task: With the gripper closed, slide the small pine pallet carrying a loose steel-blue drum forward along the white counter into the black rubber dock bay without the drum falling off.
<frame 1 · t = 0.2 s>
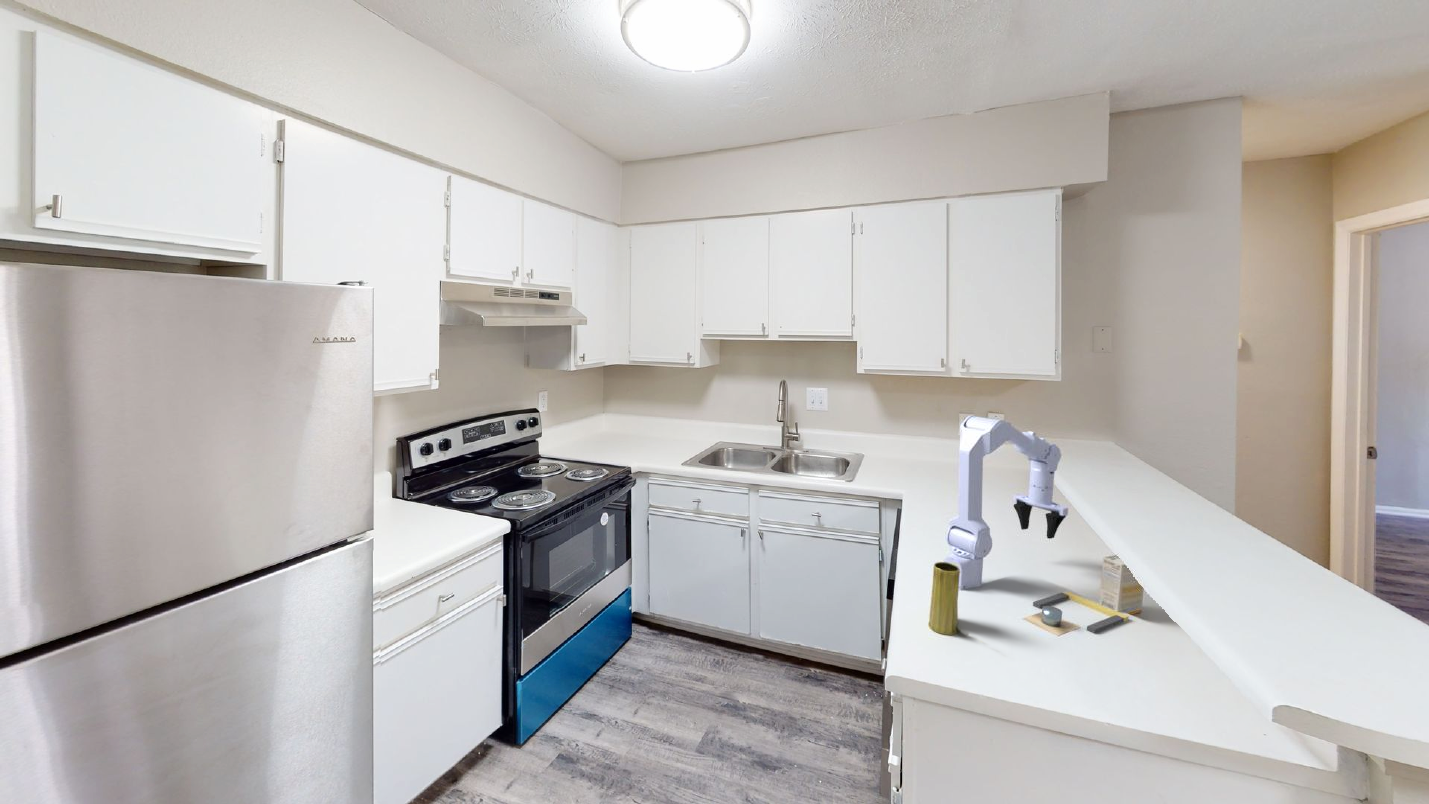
hand: (1037, 533, 156), 10 cm above the countertop, fingers open, 7 cm apart
drum: (1051, 622, 124), point 1 cm above the countertop, touching pallet
dock: (1075, 620, 129), on the countertop
vase: (942, 628, 125), on the countertop
supplement box: (1119, 611, 133), on the countertop
pallet: (1050, 631, 125), on the countertop, touching drum
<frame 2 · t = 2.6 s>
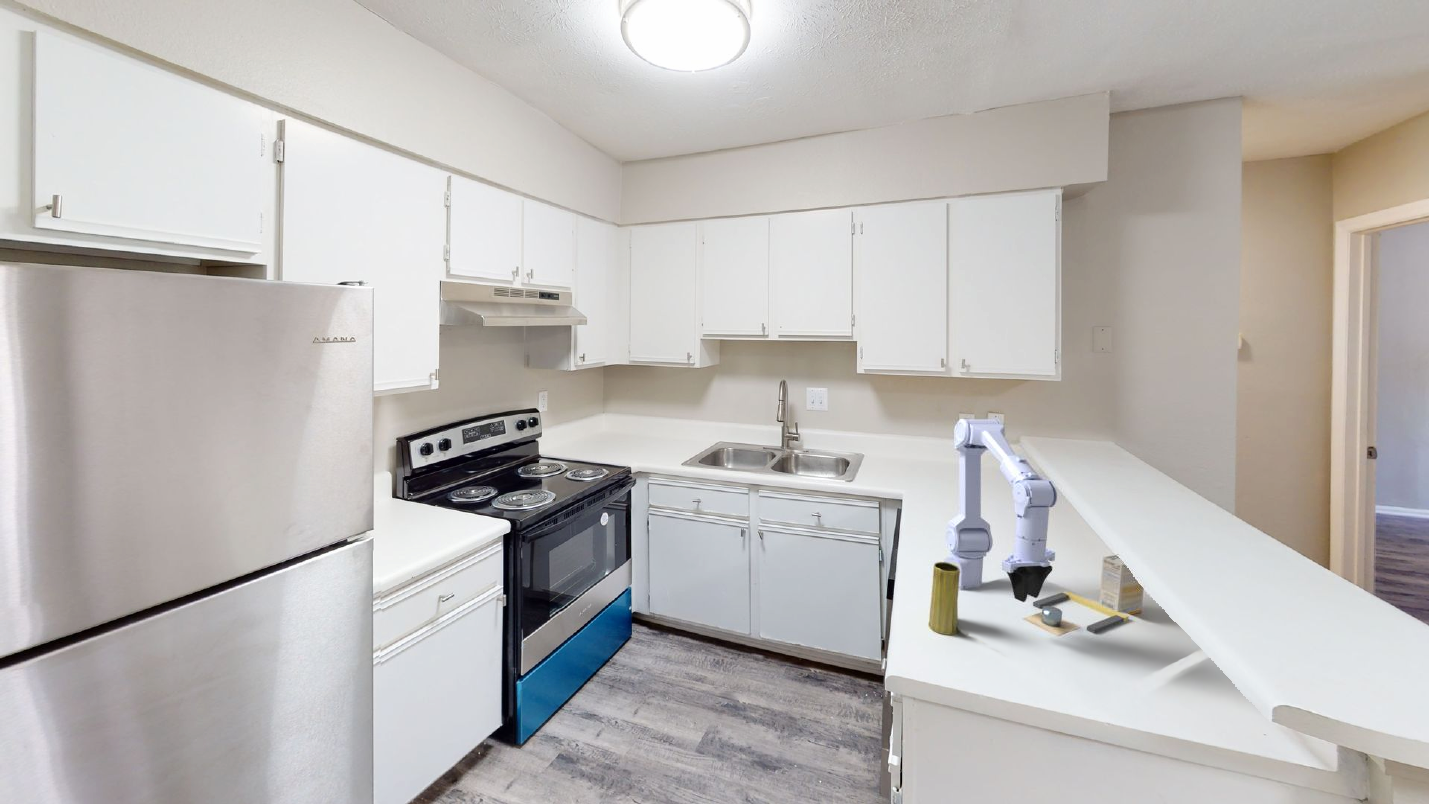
hand: (1026, 597, 119), 9 cm above the countertop, fingers open, 3 cm apart
nothing on the countertop moved.
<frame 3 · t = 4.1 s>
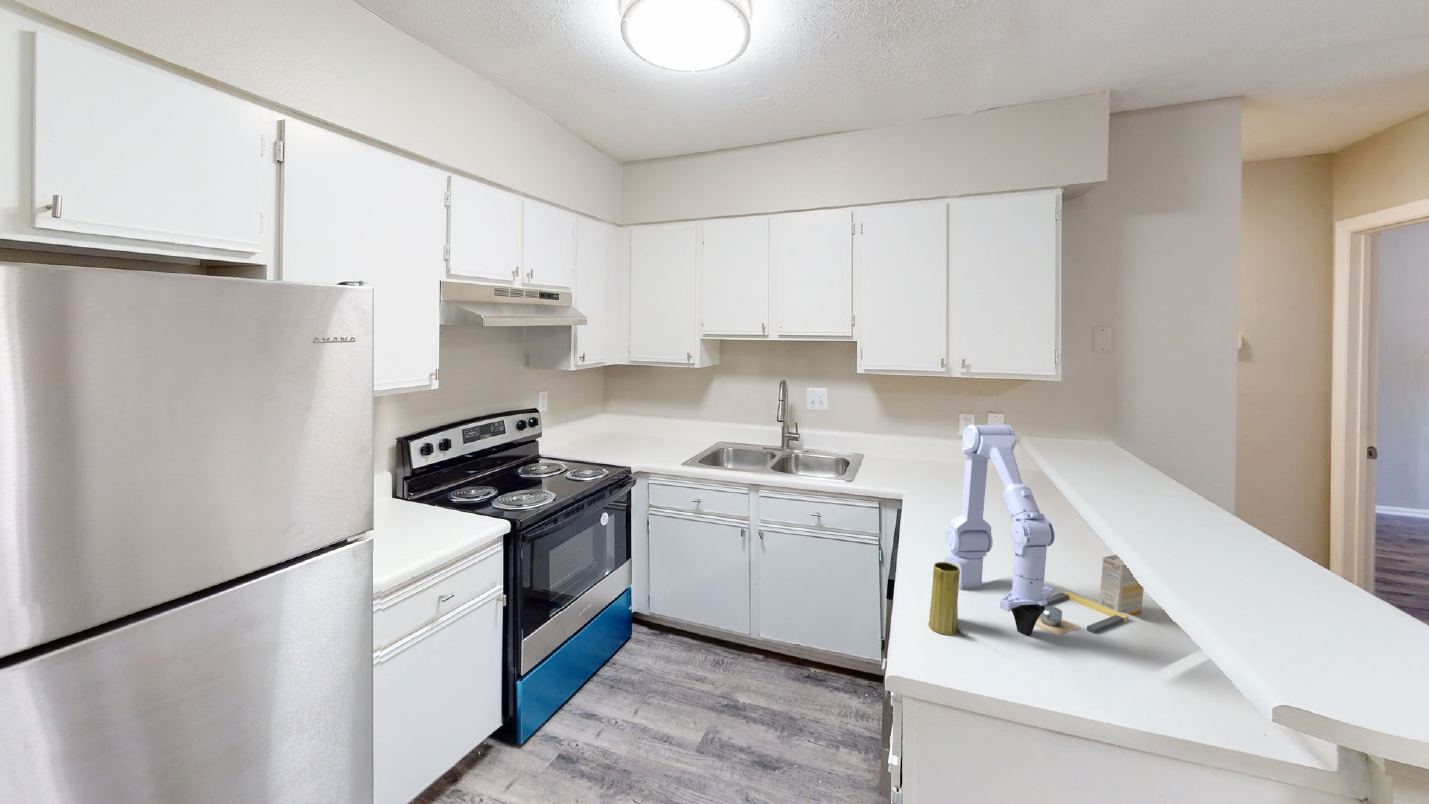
hand: (1023, 634, 120), 1 cm above the countertop, fingers closed
nothing on the countertop moved.
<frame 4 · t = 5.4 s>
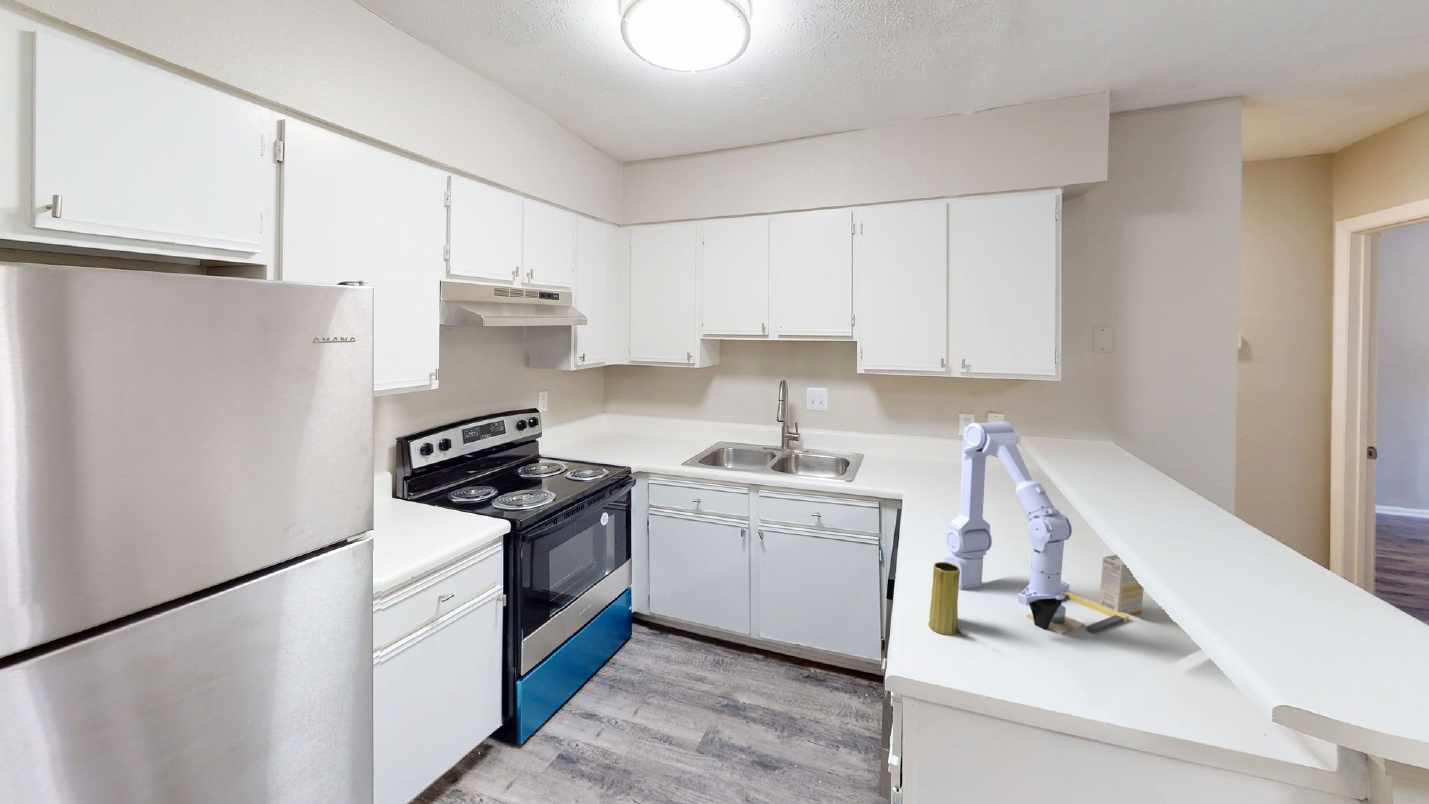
hand: (1041, 628, 123), 1 cm above the countertop, fingers closed
drum: (1054, 619, 125), point 2 cm above the countertop, touching pallet
pallet: (1054, 627, 125), on the countertop, touching drum, gripper
everything else where it was.
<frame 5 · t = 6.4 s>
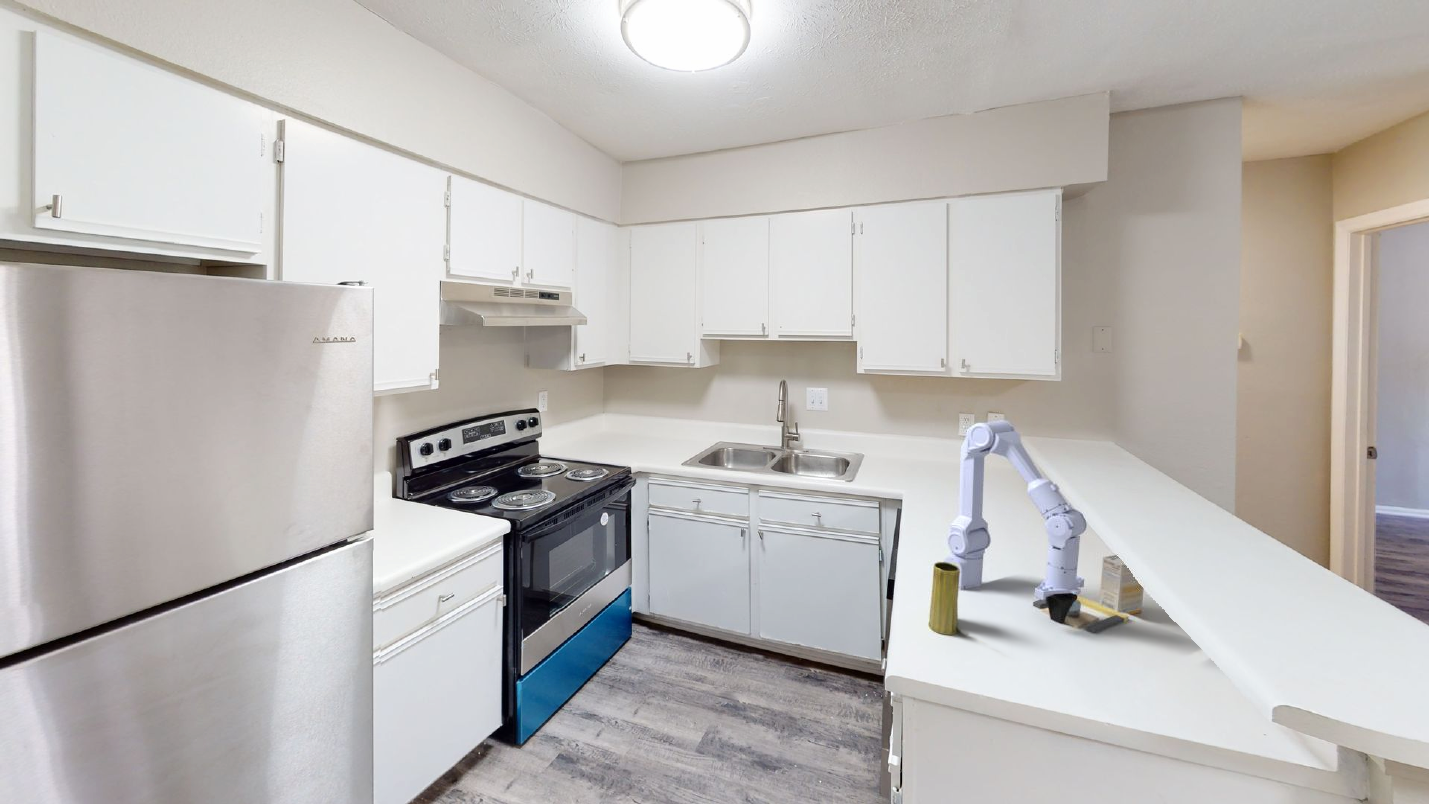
hand: (1056, 622, 125), 1 cm above the countertop, fingers closed
drum: (1069, 613, 128), point 2 cm above the countertop, touching pallet
pallet: (1069, 622, 128), on the countertop, touching drum, gripper
everything else where it was.
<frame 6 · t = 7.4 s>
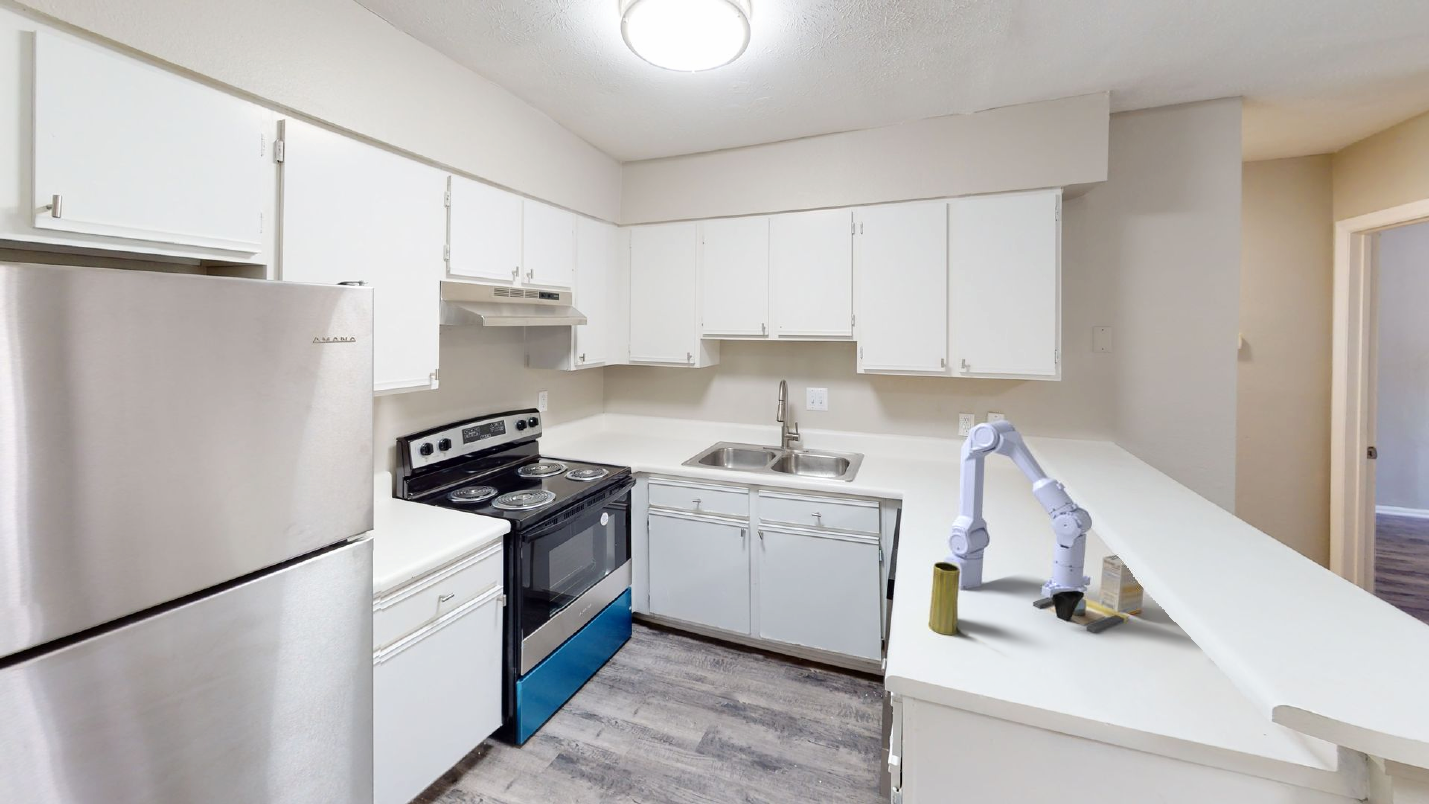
hand: (1063, 620, 127), 1 cm above the countertop, fingers closed
drum: (1075, 612, 129), point 2 cm above the countertop, touching pallet
pallet: (1075, 620, 129), on the countertop, touching drum
everything else where it was.
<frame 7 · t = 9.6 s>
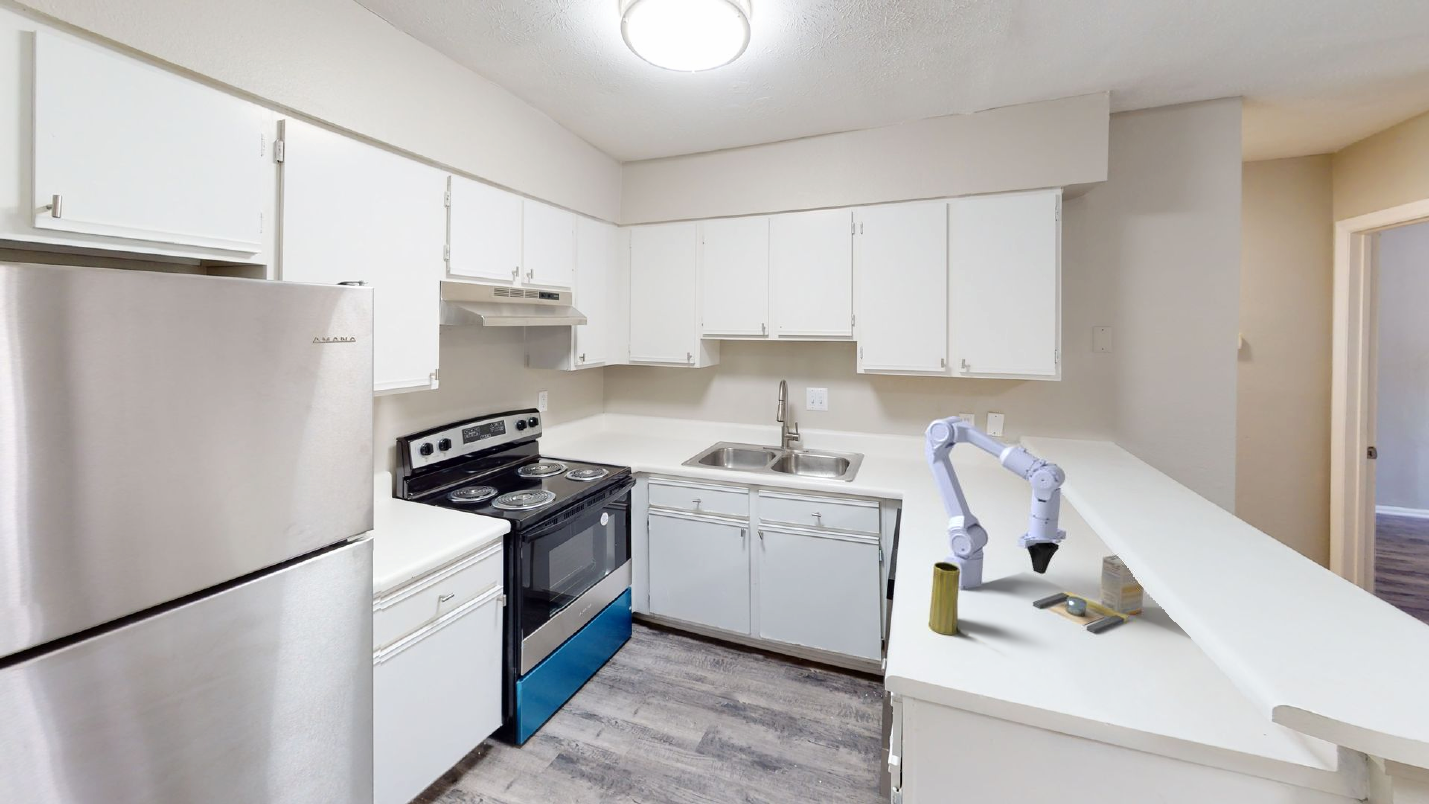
hand: (1039, 571, 132), 9 cm above the countertop, fingers closed
nothing on the countertop moved.
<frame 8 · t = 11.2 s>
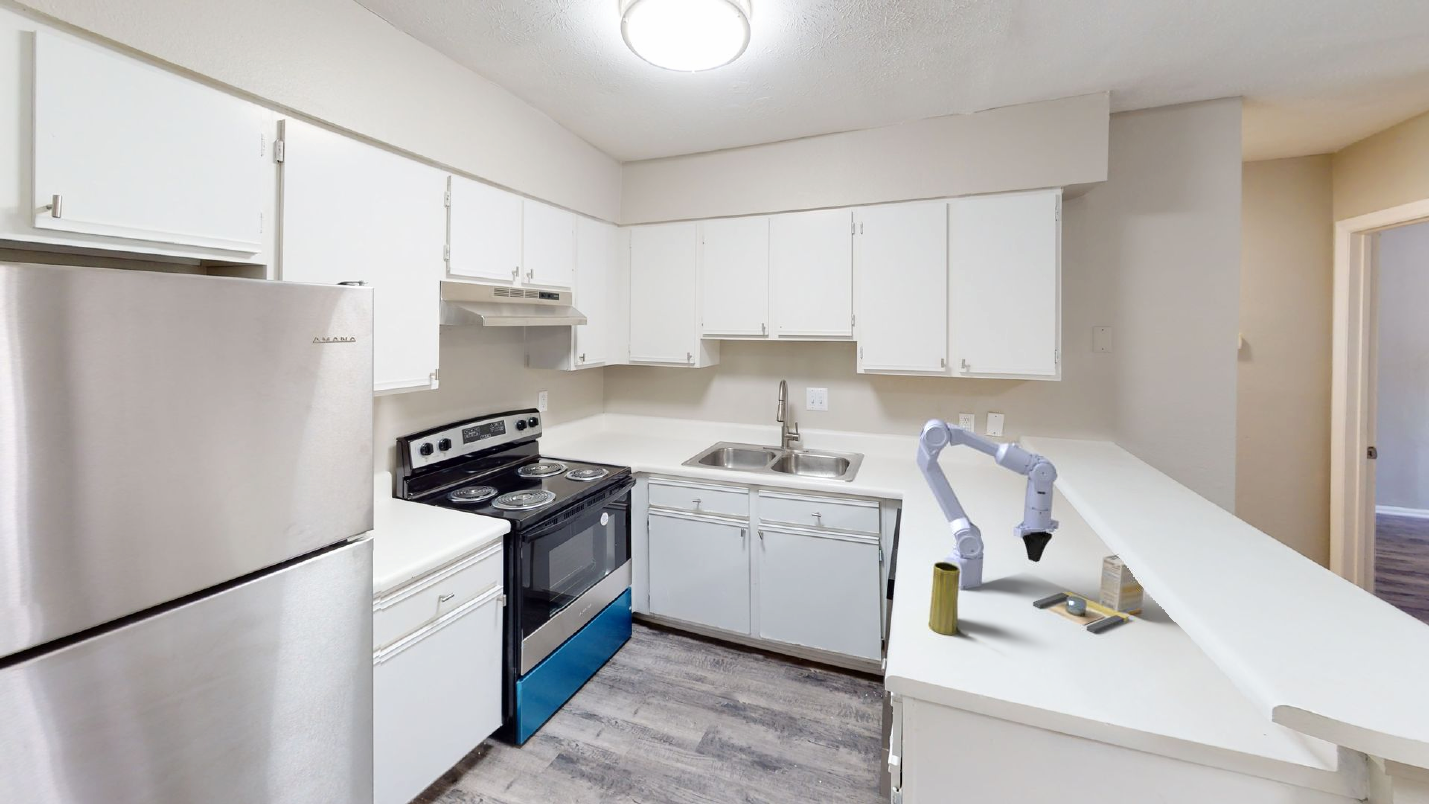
hand: (1033, 560, 139), 9 cm above the countertop, fingers closed
nothing on the countertop moved.
at the end: pallet 0.3 cm off-centre on the dock, point 0.0 cm above the dock's base; drum 0.1 cm from the pallet (horizontally); drum point 1.6 cm above the countertop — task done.
